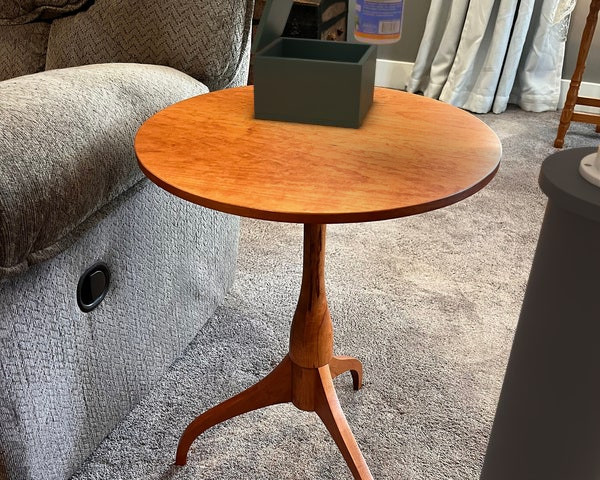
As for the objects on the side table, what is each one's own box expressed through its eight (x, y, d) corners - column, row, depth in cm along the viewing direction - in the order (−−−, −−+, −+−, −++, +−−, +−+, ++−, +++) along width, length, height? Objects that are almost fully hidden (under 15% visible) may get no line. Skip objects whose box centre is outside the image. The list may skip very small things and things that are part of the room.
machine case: (373, 101, 103) (377, 43, 98) (358, 128, 92) (362, 64, 87) (279, 93, 106) (279, 36, 101) (254, 118, 95) (252, 56, 90)
